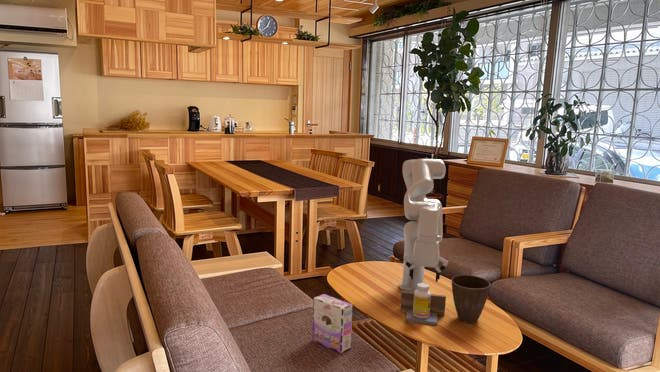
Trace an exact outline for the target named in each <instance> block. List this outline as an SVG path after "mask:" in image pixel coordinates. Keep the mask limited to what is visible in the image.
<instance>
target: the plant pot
mask: <svg viewBox="0 0 660 372" xmlns="http://www.w3.org/2000/svg"><path fill="white" fill-rule="evenodd" d="M450 281H451V289H452V292H451V293H452V298H453V302H454V304H453V305H454V307H455V312H456V314H457V319H458V320H459V321H461V322H463V323H466V324H474V323H477V322H478V320H479V319H480V317H481V315H482V313H483V310H484V308H485V306H486V303H487V299H488V297H489V296H488V295H489V293H490V288H491V282H490V281H489V280H487V279H486V278H483V277H480V276H478V275H477V276H476V275H469V274H462V275H455V276H453V277H452V278H451V280H450Z"/></svg>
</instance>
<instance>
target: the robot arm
mask: <svg viewBox="0 0 660 372" xmlns="http://www.w3.org/2000/svg"><path fill="white" fill-rule="evenodd" d="M446 172H447V169H446V165H445V162H444V161H443V160H442V159H440V158H439V159H438V158H417V159H408V160H404V162H403V164H402V177H403V180H404V183H405V186H406V192H405V194H404V198H403V209H404V210H403V211H404V212H403V213H404V216H405V218H406V219H408V220H409V221H408V222H406V223H405V224H404V226H403V239H404V249H403V250H404V251H403V252H404V253H403V265H402V266H403V269H402V281H399V284H398V287H399V288H400V290H401V291H407V292H415V290H417V284H418V283H424V278H425V276H424V274H425V268H434V269H435V282H436V283H438V280H440V279H441V277H440V276H441V273H442V271H443V270H445V269H446V267H448V265H449V261H448V260H447V259H445V258H444V257H442V256H440V242H442V239H443V231H444V230H443V204H442V202H441V201H440V200H439V199H436V198H427V196H426V195H427V194H429V193H431V192H432V191H433V190H434V184H435V183H434V180H436V179H437V180H438V179H439V180H441V179H444V178H445V177H446V176H445V175H446ZM410 220H411V221H410ZM440 262H441V263H442V265H439V263H440Z"/></svg>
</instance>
